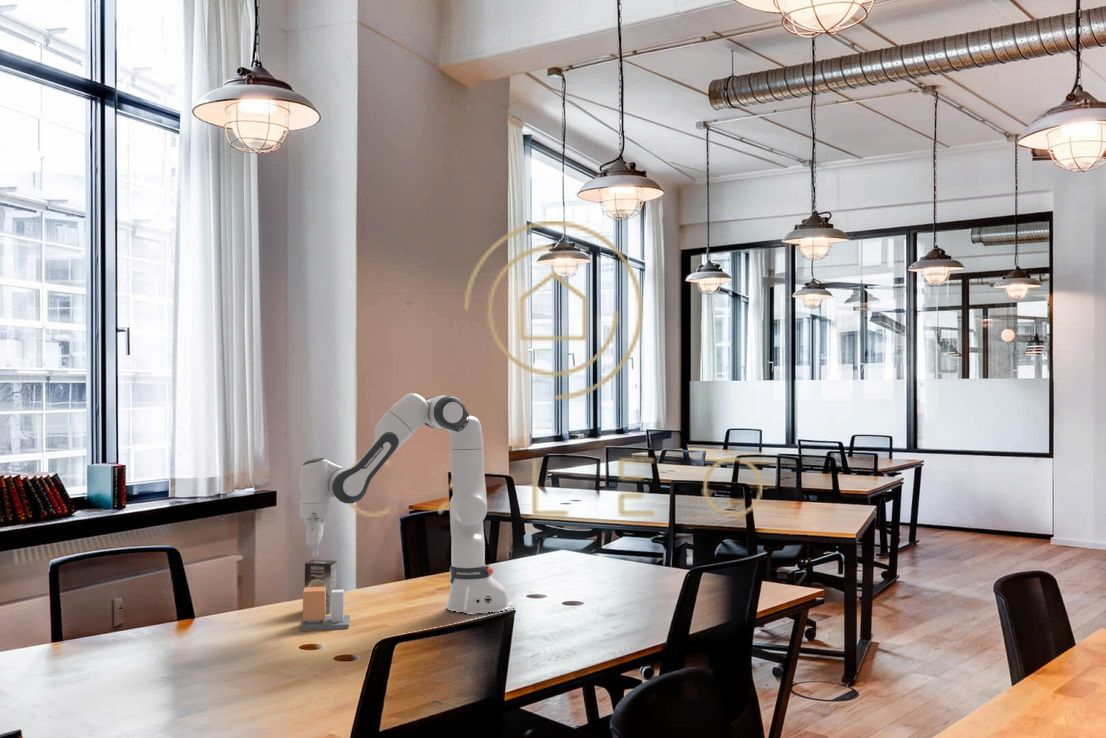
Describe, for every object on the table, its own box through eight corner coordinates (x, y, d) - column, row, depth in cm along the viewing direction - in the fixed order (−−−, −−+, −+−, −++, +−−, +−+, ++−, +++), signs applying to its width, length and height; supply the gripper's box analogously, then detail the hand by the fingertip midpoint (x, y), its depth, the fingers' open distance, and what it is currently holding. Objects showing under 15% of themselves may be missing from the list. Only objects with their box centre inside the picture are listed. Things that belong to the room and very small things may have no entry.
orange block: (325, 614, 279) (326, 586, 279) (324, 619, 273) (324, 590, 273) (304, 615, 278) (304, 587, 278) (302, 621, 272) (303, 591, 272)
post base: (349, 618, 283) (350, 586, 283) (348, 628, 271) (348, 594, 272) (304, 620, 281) (304, 588, 281) (300, 630, 269) (300, 596, 269)
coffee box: (302, 612, 291) (303, 563, 292) (310, 608, 298) (310, 559, 298) (330, 613, 290) (330, 563, 291) (337, 608, 297) (337, 560, 297)
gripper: (323, 515, 267) (323, 561, 266) (327, 506, 287) (327, 550, 286) (301, 516, 266) (301, 562, 265) (306, 507, 286) (307, 551, 285)
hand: (315, 556), depth 276 cm, fingers closed
